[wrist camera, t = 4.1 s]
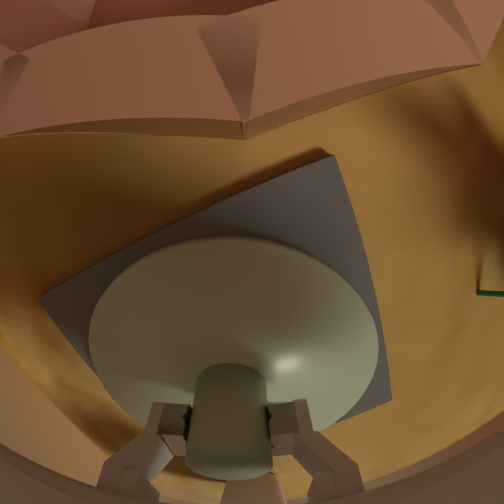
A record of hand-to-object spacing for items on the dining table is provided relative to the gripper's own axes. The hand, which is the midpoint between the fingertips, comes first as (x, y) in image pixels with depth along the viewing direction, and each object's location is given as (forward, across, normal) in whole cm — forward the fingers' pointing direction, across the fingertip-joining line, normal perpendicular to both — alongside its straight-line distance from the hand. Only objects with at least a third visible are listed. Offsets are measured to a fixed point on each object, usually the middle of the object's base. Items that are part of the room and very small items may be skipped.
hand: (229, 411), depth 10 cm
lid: (+2, 0, 0) cm, 2 cm away
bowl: (+3, -1, -15) cm, 15 cm away
